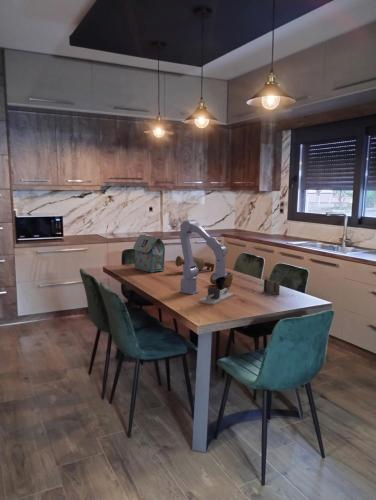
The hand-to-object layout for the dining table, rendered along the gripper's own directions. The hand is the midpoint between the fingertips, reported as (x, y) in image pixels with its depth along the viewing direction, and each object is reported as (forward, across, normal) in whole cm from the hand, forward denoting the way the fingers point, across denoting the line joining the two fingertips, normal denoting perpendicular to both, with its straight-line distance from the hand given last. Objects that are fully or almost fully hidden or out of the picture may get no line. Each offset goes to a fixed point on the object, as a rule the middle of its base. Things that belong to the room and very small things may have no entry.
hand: (219, 289), depth 232 cm
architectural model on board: (+6, +29, -20) cm, 36 cm away
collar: (+3, -7, 0) cm, 8 cm away
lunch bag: (+5, +34, +81) cm, 88 cm away
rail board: (+5, -3, 0) cm, 5 cm away
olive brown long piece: (+5, +50, +50) cm, 71 cm away
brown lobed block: (+5, +23, +11) cm, 26 cm away
